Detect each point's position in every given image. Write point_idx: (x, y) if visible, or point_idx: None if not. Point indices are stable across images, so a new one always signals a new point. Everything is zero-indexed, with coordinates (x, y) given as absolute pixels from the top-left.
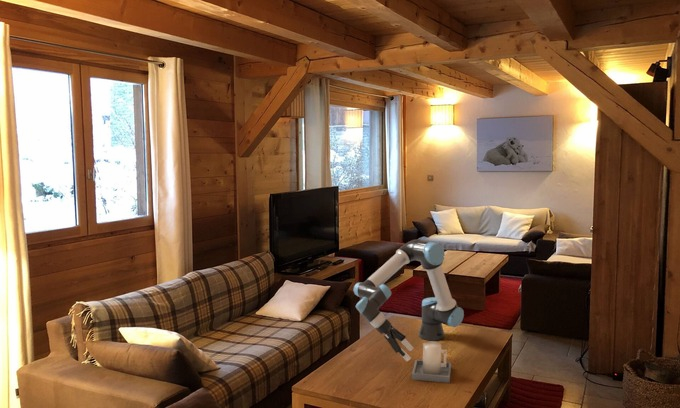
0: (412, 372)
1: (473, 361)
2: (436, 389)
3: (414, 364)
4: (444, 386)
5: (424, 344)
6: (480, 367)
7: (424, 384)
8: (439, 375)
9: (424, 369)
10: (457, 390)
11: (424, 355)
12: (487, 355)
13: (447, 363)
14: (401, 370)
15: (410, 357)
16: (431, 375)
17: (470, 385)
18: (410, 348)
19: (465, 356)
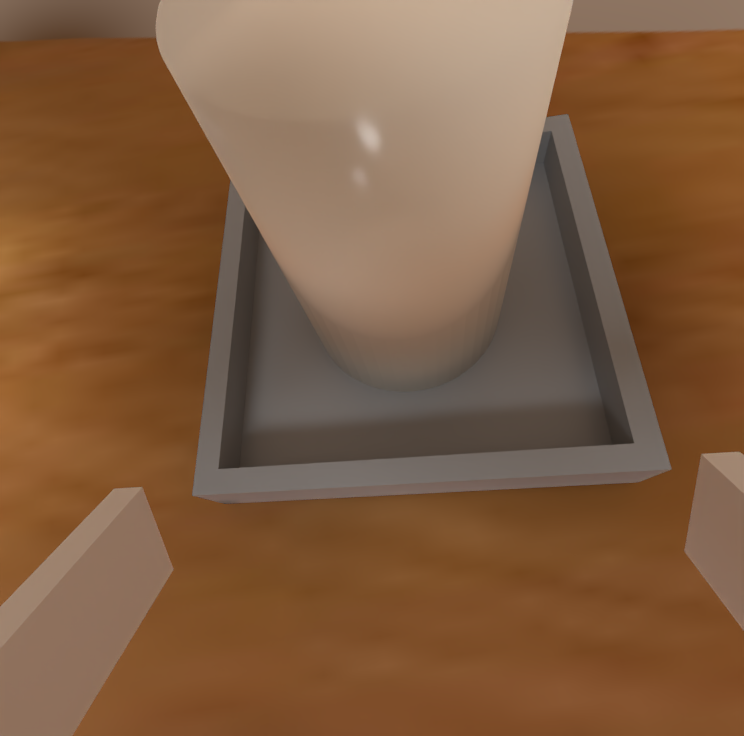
0: (628, 468)
1: (109, 110)
2: (740, 226)
3: (350, 484)
4: (635, 184)
5: (392, 81)
6: None
7: (685, 338)
8: (575, 187)
9: (479, 342)
10: (663, 99)
11: (492, 232)
12: (16, 68)
13: None
14: (399, 662)
15: (735, 463)
16: (606, 253)
17: None
18: (136, 559)
19: (21, 162)
